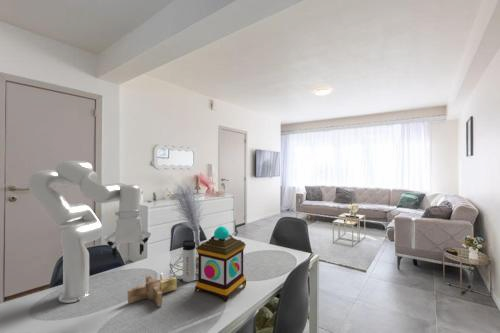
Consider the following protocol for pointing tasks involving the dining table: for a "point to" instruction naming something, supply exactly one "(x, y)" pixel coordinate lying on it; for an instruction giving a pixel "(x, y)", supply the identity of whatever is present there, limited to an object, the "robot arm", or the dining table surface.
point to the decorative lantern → (220, 264)
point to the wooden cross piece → (152, 290)
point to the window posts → (162, 276)
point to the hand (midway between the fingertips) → (128, 255)
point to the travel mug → (189, 261)
